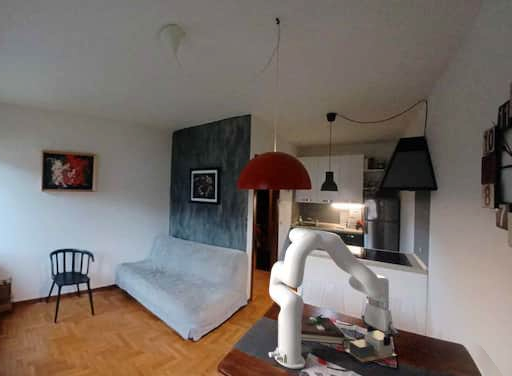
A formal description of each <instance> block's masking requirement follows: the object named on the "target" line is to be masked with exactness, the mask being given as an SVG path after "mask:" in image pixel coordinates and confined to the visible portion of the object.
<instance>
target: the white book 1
mask: <svg viewBox="0 0 512 376" xmlns="http://www.w3.org/2000/svg"><path fill="white" fill-rule="evenodd" d="M384 337H385V335H384V333H383V331H381V330H379V329H377V330H374V331H371V332H367V331H366V332H364V339H365V338H367V339H369V340H370V341H372V342H374V343H376V344H378V345H379V346H380V345H384ZM393 340H394V338H393V337H391V343H392V344H393V343H394V341H393Z"/></svg>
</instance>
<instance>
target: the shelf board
mask: <svg viewBox="0 0 512 376" xmlns="http://www.w3.org/2000/svg"><path fill="white" fill-rule="evenodd" d="M344 351H346V352H347V353H348V354H349V355H351V356H353V357H355V358H356V359H357V360H359V361H361V362H362V363H365V362H370V361H374V360H375V361H376V360H380V359H384V358H390V357H394V356H397V354H396V353H395V352H393V354H389V355H384V356H378V355H376V354H374V356H371V357H365V358H358V357H357V356H355V355H354V354H352V353H351V352H350V348H346V349H344Z"/></svg>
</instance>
